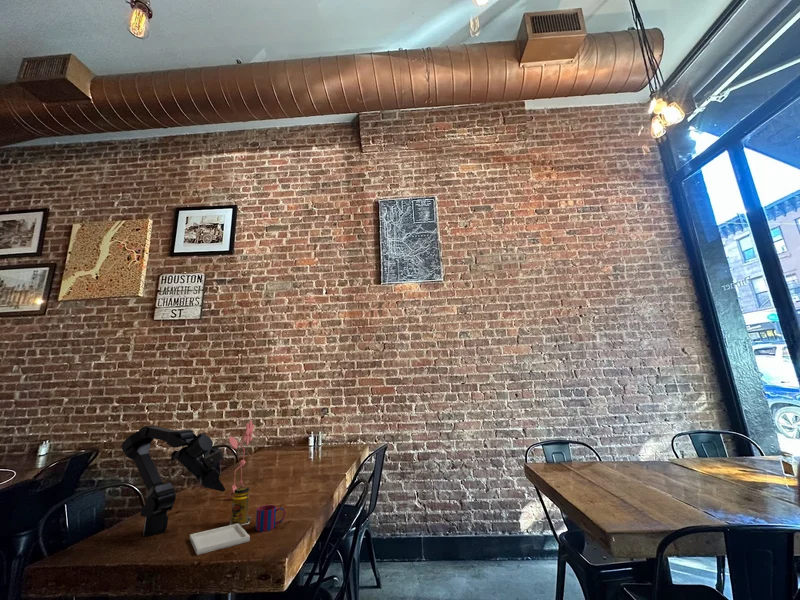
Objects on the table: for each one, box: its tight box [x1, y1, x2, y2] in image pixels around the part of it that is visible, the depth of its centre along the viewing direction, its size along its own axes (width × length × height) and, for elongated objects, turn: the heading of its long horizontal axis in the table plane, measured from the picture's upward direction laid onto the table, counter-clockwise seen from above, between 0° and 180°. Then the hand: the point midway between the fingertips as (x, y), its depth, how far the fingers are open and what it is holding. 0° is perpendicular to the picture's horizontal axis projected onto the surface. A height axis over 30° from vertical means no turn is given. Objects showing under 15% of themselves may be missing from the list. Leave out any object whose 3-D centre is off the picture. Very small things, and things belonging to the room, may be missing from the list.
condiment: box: [228, 486, 252, 526], centre depth 139 cm, size 7×8×12 cm
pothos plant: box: [226, 419, 263, 500], centre depth 176 cm, size 15×26×35 cm, turn 4°
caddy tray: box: [189, 524, 251, 556], centre depth 121 cm, size 16×16×2 cm
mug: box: [255, 504, 286, 533], centre depth 132 cm, size 7×10×7 cm
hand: (221, 488), depth 136 cm, fingers open, 9 cm apart
